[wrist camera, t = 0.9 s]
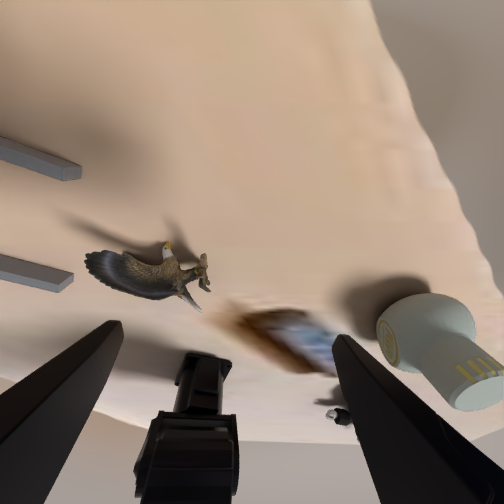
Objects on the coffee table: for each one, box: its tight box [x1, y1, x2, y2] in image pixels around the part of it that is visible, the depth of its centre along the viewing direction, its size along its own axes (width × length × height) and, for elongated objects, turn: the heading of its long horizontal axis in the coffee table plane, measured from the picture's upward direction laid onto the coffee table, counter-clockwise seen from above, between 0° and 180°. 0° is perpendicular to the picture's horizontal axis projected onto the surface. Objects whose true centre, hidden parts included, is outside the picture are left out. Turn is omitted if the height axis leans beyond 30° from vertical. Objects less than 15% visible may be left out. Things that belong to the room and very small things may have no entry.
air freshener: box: [376, 293, 504, 412], centre depth 23 cm, size 11×8×10 cm
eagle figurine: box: [84, 242, 211, 313], centre depth 19 cm, size 8×7×9 cm
